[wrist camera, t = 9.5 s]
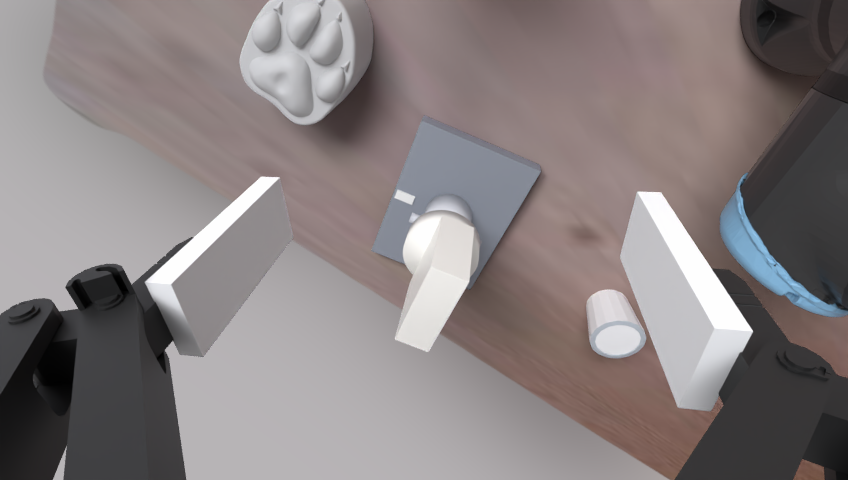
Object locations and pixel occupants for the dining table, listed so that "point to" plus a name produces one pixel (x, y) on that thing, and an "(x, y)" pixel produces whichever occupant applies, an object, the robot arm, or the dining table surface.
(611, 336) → the shot glass
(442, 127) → the post plinth
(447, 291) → the white round-based slab
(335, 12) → the lumpy-topped squat cylinder
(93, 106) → the dining table surface
